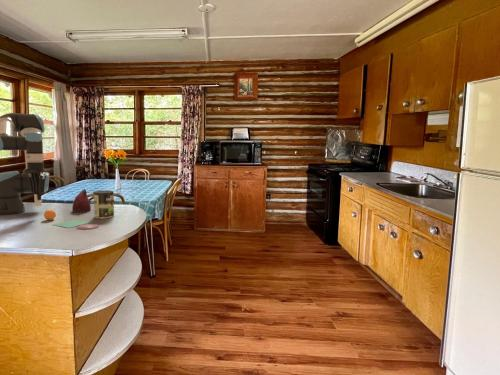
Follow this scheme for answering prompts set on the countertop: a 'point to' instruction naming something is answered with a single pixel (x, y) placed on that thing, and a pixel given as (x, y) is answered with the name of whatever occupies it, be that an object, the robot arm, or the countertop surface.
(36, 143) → the robot arm
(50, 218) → the ball
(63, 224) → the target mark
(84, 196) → the vegetable
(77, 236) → the countertop surface
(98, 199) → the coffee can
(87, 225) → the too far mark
